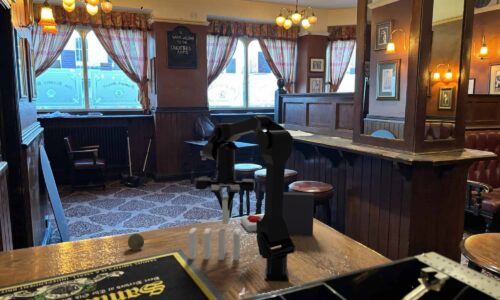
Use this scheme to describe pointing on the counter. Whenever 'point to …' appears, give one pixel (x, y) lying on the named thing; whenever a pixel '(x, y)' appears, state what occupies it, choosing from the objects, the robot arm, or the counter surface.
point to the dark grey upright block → (299, 213)
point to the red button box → (250, 222)
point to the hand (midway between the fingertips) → (225, 210)
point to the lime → (135, 241)
